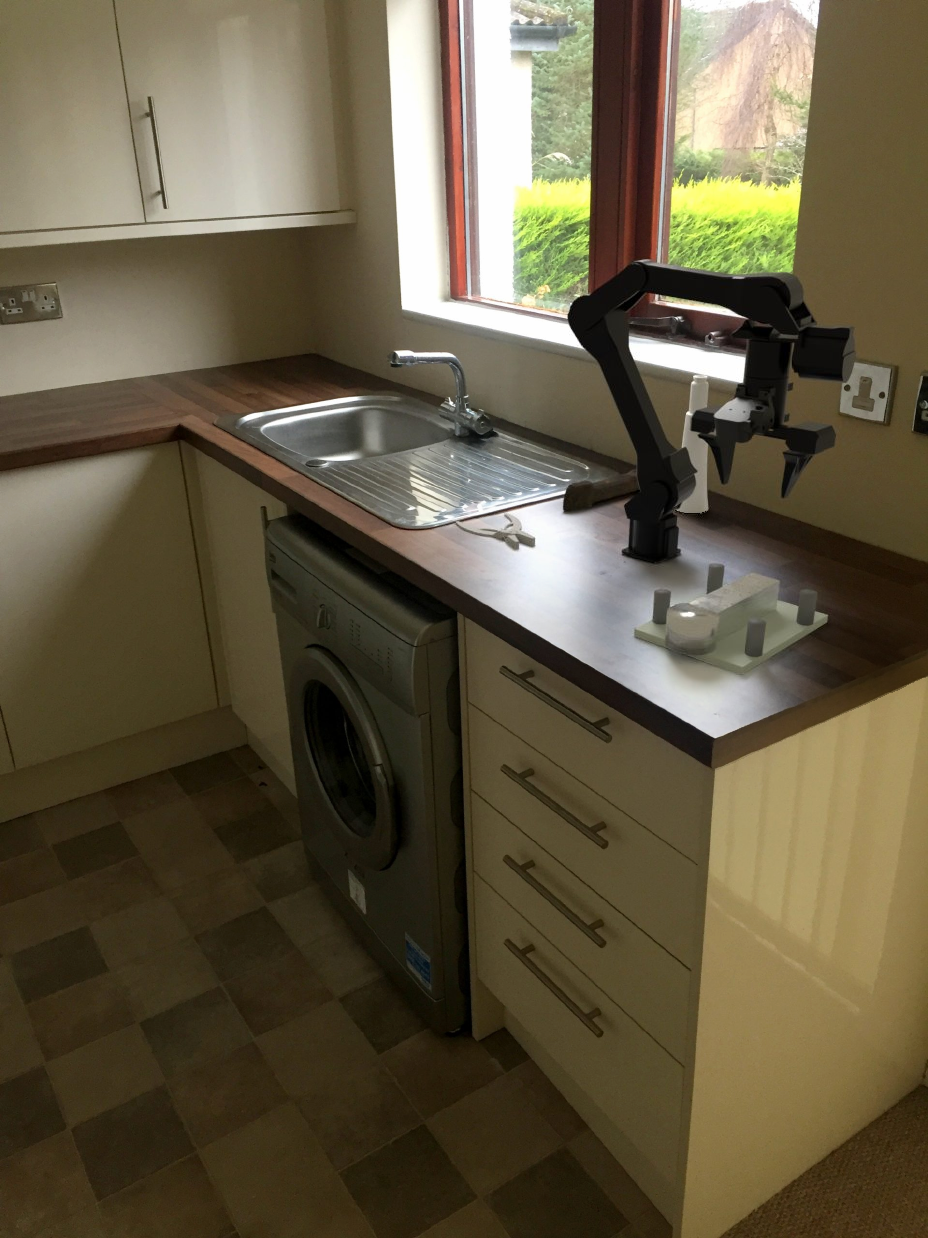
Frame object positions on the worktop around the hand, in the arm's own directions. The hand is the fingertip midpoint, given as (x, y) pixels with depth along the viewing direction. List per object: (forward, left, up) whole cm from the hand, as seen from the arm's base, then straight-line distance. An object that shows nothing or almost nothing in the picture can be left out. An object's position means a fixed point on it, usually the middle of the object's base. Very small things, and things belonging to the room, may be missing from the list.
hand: (753, 490), depth 138 cm
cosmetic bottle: (-22, +19, -12) cm, 32 cm away
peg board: (+9, -18, -12) cm, 23 cm away
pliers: (-37, -11, -13) cm, 40 cm away
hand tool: (-35, +13, -12) cm, 40 cm away
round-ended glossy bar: (+9, -20, -11) cm, 25 cm away
